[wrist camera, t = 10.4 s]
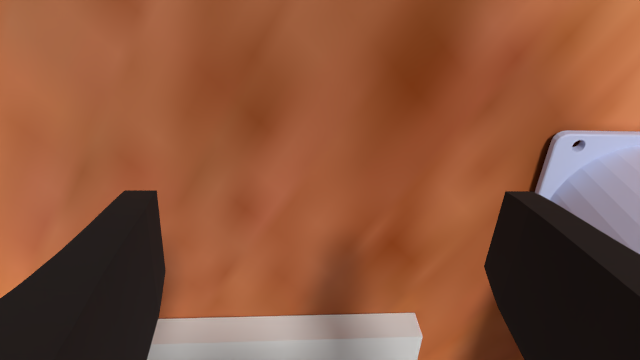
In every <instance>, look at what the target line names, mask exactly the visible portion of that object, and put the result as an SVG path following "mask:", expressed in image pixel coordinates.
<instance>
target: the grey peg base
mask: <svg viewBox="0 0 640 360" xmlns="http://www.w3.org/2000/svg"><path fill="white" fill-rule="evenodd" d="M422 337H423V336H422V333H421V330H420V327H419V324H418V321H417V318H416V315H415V313H384V314H343V315H302V316H260V317H219V318H178V319H158V321H157V325H156V328H155V332H154V336H153V339H152V343H151V347H150V350H149V354H148V357H147V360H417V358H418V354H419V350H420V345H421V341H422Z"/></svg>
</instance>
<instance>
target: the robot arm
mask: <svg viewBox="0 0 640 360" xmlns="http://www.w3.org/2000/svg"><path fill="white" fill-rule="evenodd" d="M578 140H580V143H579V144H578V145H577V146H575V147H572V146H573V144H574V143H575V142H576V141H578ZM484 267H485V271H486V274H487V277H488V280H489V283H490V286H491V289H492V292H493V295H494V297H495V300H496V303H497V306H498V308H499V310H500V312H501V314H502V316H503V318H504V320H505V322H506V324H507V326H508V328H509V330H510V332H511V334H512V336H513V338H514V340H515V342H516V344H517V346H518V348H519V350H520V352H521V354H522V356H523V358H524V360H640V132H632V131H570V130H566V131H561V132H559V133H557V134H556V135H555V136H554V137H553V139H552V140H551V143H550V146H549V149H548V152H547V155H546V158H545V162H544V165H543V168H542V171H541V174H540V177H539V180H538V183H537V187H536V190H535V192H505V195H504V199H503V202H502V206H501V209H500V213H499V216H498V220H497V223H496V227H495V230H494V234H493V237H492V241H491V244H490V248H489V251H488V255H487V258H486V262H485V265H484ZM164 277H165V263H164V254H163V245H162V236H161V227H160V218H159V208H158V199H157V191H124V192H123V193H122V194H120V195H119V196H118V197H117V198H116V199H115V200H114V201H113V202H112V203H111V204H110V205H109V206H108V207H107V208H105V209H104V210H103V211H102V212H101V213H100V214H99V215H98V216H97V217H96V218H95V219H94V220H93V221H92V222H91V223H90V224H89V225H88V226H87V227H86V228H85V229H84V230H82V231H81V232H80V233H79V234H78V235H77V236H76V237H75V238H74V239H73V240H72V241H70V242H69V243H68V244H67V245H66V246H65V247H64V248H63V249H62V250H61V251H59V252H58V253H57V254H56V255H55V256H54V257H52V258H51V259H50V260H49V261H47V262H46V263H45V264H44V265H43V266H41V267H40V268H39V269H38V270H37V271H35V272H34V273H33V274H32V275H30V276H29V277H28V278H27V279H26V280H24V281H23V282H22V283H21V284H19V285H18V286H17V287H15V288H14V289H13V290H11V291H10V292H9V293H7V294H6V295H4V296H3V297H2V298H0V360H147V357H148V354H149V350H150V347H151V343H152V339H153V336H154V332H155V328H156V325H157V321H158V317H159V312H160V305H161V299H162V292H163V285H164Z"/></svg>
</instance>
